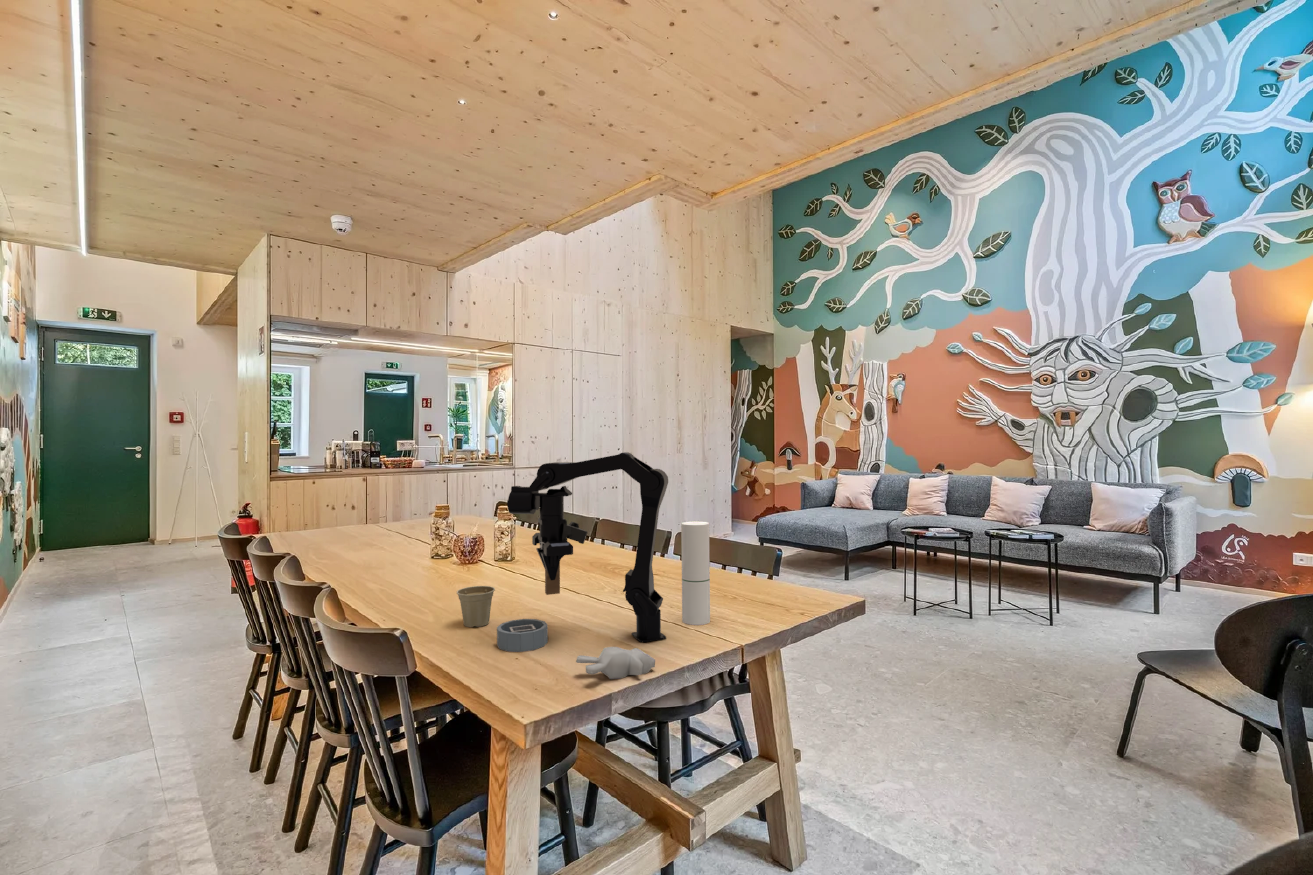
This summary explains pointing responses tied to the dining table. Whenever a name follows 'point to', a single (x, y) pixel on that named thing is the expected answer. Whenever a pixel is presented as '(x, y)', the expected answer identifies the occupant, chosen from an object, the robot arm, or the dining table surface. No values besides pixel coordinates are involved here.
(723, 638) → the dining table surface
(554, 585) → the brown rectangular block
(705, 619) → the cylindrical container
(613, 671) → the bunny figurine
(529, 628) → the clip
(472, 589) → the flower pot
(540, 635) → the blue-grey round dish
